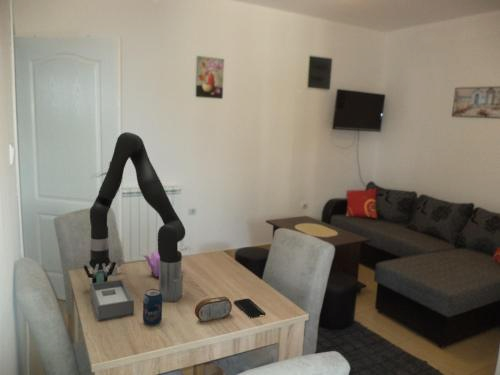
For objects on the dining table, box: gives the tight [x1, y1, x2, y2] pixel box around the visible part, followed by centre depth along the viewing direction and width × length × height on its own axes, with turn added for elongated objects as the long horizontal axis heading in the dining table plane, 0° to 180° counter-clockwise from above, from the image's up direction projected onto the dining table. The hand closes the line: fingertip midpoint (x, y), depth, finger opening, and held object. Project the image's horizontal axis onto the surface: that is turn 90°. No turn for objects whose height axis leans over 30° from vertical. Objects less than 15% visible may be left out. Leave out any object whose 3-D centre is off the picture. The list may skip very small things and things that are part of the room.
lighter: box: [107, 257, 124, 277], centre depth 184 cm, size 7×2×8 cm, turn 120°
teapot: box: [142, 250, 160, 279], centre depth 187 cm, size 20×10×12 cm, turn 118°
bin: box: [90, 279, 135, 322], centre depth 153 cm, size 13×22×6 cm, turn 29°
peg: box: [96, 270, 104, 283], centre depth 166 cm, size 4×4×8 cm
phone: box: [233, 298, 266, 319], centre depth 158 cm, size 8×1×15 cm
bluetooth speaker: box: [194, 296, 233, 322], centre depth 148 cm, size 15×3×8 cm, turn 119°
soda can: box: [142, 288, 163, 327], centre depth 142 cm, size 7×7×12 cm
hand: (99, 284), depth 167 cm, fingers closed on peg, 3 cm apart
